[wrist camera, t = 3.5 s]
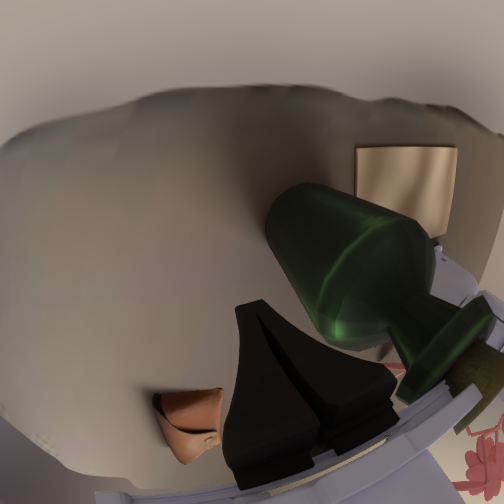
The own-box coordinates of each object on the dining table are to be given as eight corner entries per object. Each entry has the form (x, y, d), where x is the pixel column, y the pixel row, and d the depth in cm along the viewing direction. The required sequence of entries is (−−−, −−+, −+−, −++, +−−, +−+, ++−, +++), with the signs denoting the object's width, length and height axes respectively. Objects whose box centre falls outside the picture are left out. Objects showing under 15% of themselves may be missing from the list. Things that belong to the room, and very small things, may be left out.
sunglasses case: (225, 442, 36) (213, 475, 30) (185, 430, 37) (170, 461, 31) (224, 385, 28) (204, 433, 22) (167, 368, 29) (142, 410, 23)
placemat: (455, 147, 23) (457, 148, 23) (444, 232, 28) (445, 233, 28) (355, 148, 19) (357, 148, 19) (349, 264, 25) (351, 266, 25)
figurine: (367, 339, 33) (501, 526, 4) (452, 314, 42) (550, 425, 13) (326, 402, 39) (418, 555, 10) (416, 367, 48) (495, 471, 19)
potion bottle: (238, 258, 21) (373, 495, 6) (276, 156, 18) (553, 318, 3) (321, 273, 24) (457, 431, 9) (359, 190, 21) (549, 314, 6)
